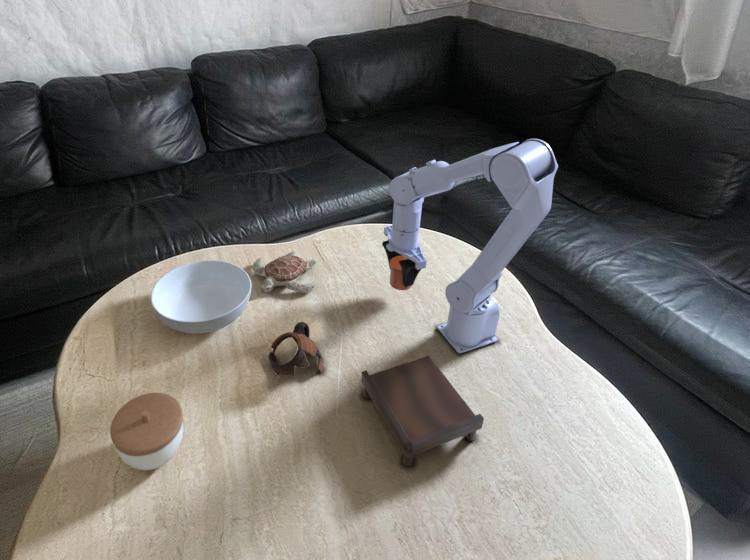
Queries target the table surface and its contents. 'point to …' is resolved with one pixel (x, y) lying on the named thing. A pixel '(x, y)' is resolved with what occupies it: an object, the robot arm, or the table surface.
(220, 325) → the serving bowl
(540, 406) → the table surface
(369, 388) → the footed tray
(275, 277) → the decorative turtle
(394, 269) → the terracotta pot
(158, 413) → the trinket box
